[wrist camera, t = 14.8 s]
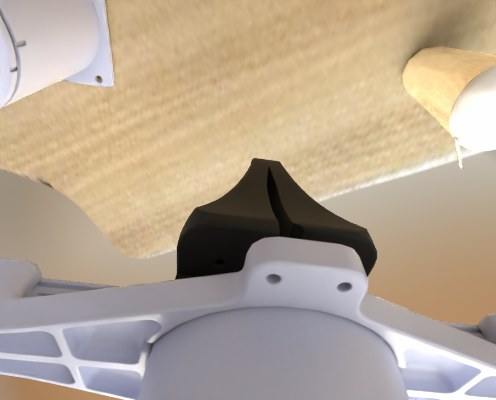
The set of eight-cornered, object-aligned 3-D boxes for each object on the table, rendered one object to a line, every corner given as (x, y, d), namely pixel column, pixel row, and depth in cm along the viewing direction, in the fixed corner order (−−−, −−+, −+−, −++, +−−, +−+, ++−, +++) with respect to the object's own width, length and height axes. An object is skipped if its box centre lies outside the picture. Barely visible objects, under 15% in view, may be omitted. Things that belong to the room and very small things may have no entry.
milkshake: (369, 80, 21) (439, 135, 13) (442, 19, 19) (579, 40, 11) (401, 122, 23) (478, 193, 15) (470, 71, 21) (606, 123, 13)
